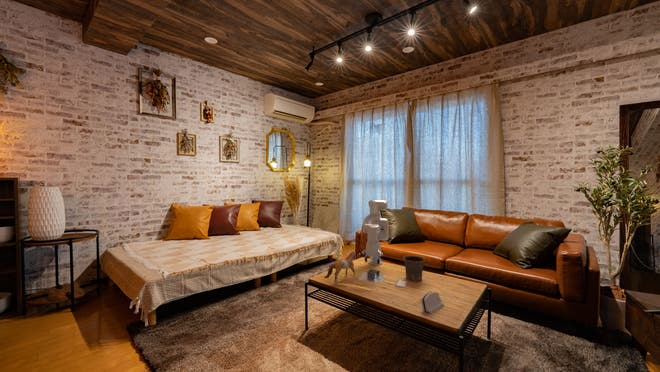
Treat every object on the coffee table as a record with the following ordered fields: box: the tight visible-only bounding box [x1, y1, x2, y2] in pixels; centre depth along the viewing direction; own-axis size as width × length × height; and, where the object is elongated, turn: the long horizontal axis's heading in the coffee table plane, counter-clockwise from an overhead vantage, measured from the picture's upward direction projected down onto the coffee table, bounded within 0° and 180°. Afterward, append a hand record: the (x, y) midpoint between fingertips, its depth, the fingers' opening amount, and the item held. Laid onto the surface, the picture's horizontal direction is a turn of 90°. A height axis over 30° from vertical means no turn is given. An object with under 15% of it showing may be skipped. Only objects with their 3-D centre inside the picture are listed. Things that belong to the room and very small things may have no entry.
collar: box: [366, 268, 377, 279], centre depth 216 cm, size 6×6×5 cm
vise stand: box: [357, 268, 386, 284], centre depth 216 cm, size 18×18×6 cm
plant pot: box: [403, 255, 425, 282], centre depth 217 cm, size 16×16×16 cm
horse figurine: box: [323, 251, 357, 286], centre depth 211 cm, size 31×8×21 cm, turn 126°
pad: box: [394, 279, 408, 289], centre depth 207 cm, size 11×11×1 cm
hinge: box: [420, 291, 445, 315], centre depth 169 cm, size 17×5×10 cm, turn 129°
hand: (372, 263), depth 215 cm, fingers open, 9 cm apart
